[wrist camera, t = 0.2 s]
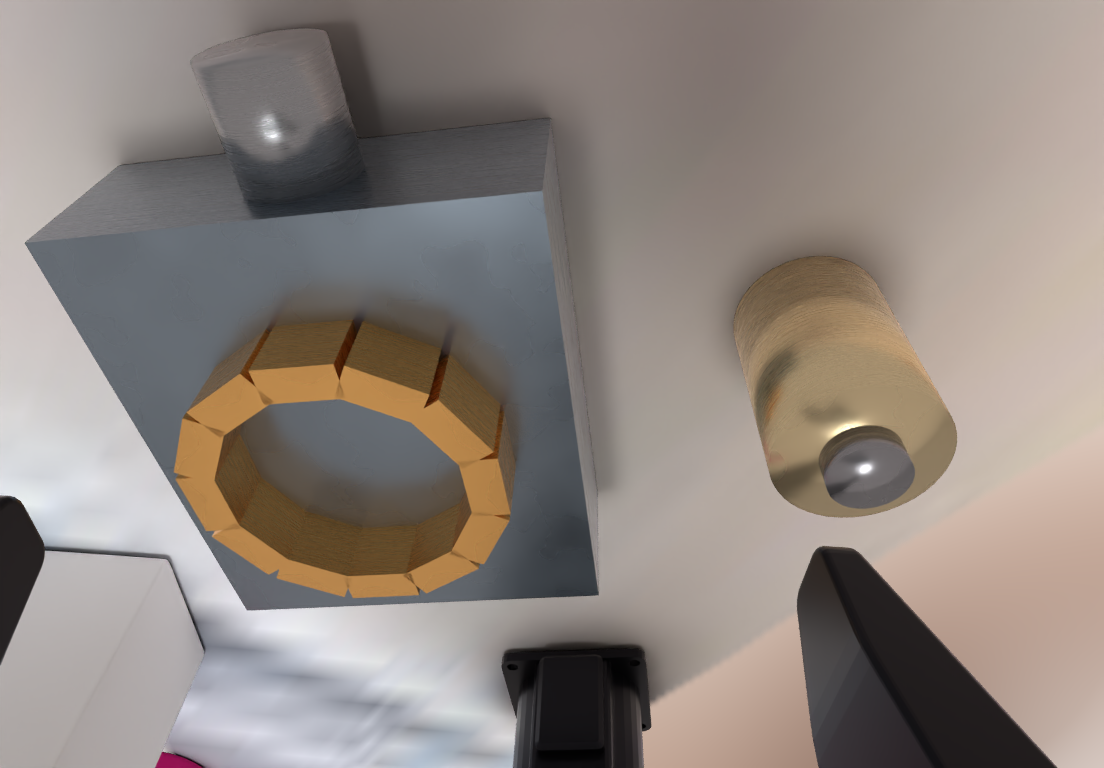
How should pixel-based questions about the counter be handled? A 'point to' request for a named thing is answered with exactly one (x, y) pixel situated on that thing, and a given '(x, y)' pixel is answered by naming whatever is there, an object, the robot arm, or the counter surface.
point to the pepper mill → (174, 762)
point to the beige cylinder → (839, 391)
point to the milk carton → (96, 664)
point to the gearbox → (345, 342)
